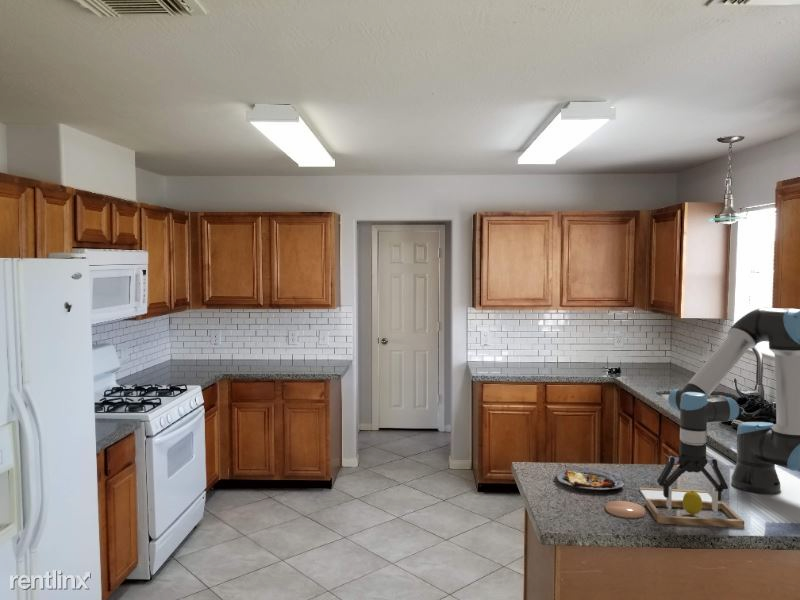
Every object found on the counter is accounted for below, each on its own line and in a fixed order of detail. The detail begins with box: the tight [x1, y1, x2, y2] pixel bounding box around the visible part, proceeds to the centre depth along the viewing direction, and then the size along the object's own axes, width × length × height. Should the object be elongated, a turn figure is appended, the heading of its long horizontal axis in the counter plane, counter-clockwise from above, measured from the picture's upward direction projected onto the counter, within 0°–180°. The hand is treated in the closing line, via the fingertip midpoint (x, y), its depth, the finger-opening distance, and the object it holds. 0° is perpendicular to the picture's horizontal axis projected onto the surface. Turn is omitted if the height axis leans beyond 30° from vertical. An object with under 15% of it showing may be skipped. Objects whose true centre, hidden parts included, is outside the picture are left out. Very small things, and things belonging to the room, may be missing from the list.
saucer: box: [605, 500, 646, 519], centre depth 189 cm, size 12×12×1 cm
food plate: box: [556, 466, 626, 491], centre depth 216 cm, size 25×23×4 cm
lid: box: [638, 487, 712, 502], centre depth 199 cm, size 22×13×1 cm, turn 81°
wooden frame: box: [644, 498, 745, 529], centre depth 185 cm, size 24×16×2 cm, turn 81°
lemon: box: [683, 489, 702, 517], centre depth 185 cm, size 6×6×8 cm
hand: (691, 509), depth 185 cm, fingers open, 13 cm apart
